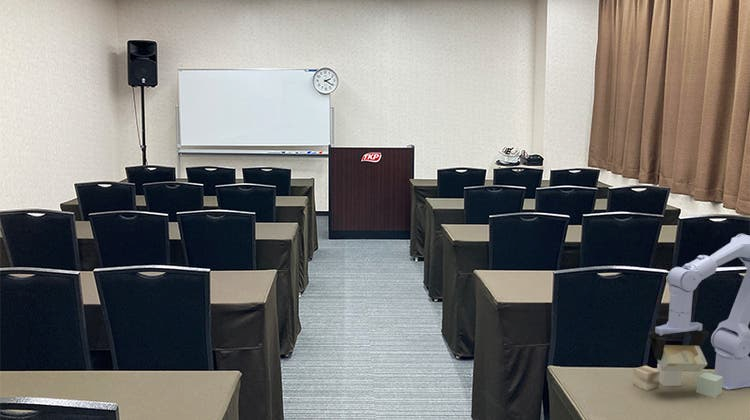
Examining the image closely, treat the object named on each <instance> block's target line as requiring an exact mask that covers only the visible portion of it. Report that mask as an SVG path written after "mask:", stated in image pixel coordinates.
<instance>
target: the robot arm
mask: <svg viewBox="0 0 750 420" xmlns="http://www.w3.org/2000/svg"><path fill="white" fill-rule="evenodd" d="M736 258H738V259H740V261H741V262H742V263H743V264H744V266H745V267H746V271H745V274H744V277H743V279H742V282H741V284H740V287H739V289H738V292H737V295H736V298H735V300H734V302H733V305H732V308H731V310H730V314H729V316H728V317H727V319H725V320H722V321H720V322H719V323H718V325H717V328H716V329H715V330H714V331H713V333H712V334H711V337H710V343H711V345H712V347H713V348H714V352H716V354H715V366H714V374H715V375H719V376H722V377H723V384H722V389H725V390H727V391H729V390H736V389H742V388H748V387H749V388H750V356H749V354H750V327H749V325H750V235H747V234H746V233H738V234H737V235H736V236H734V237H731V239H730V242H729V243H727V244H726V245H725V246H722V247H721V248H719V249H718V250H716V251H715V252H714V253H712V254H711V255H710V256H709V255H707V254H706V255H705V254H700V255H698V256H696V258H695V259H694V260H691V261H690V262H688V263H687V262H686V263H685V264H684V265H682V266H681V267H680V266H675V267H673V268H672V269H670V270H669V272H668V274H667V276H666V283H667V284H668V290H669V293H670V294H669V306H668V307H669V308H668V309H669V310H668V321H667V322H666V323H665V324H662V325H659V326H655V330H654V331H651V332H650V331H649V332H647V337H648V339H649V341H650V343H651V346H652V349H653V353H654V359H656V360H657V359H658V360H661V359H662V356H663V350H664V346H665V345H666V343H667V341H668V339H667V338H665V337H664V336H663V335H670V334H677V333H685V332H689V334H690V335H689V336H690V342H691V343H690V346H699V347H700V349H701V350H702V348H703V344H704V342H705V341H706V340H707V338H709V336H710V332H709V331H708V330H706V328H705V327H704V328H703V323H700V322H698V321H696V322H695V321H692V319H691V318H692V308H693V305H692V304H693V293H694V292H693V291H695V290H696V289H697V287H698V285H699V284H700V283H701V282H702V280H703V281H704V279H706V278H708V277H710V276H712V275H713V274H716V272H717V267H719V266H722V265H725V264H726V263H728V262H730V261H733V260H734V259H736ZM691 321H692V322H691Z"/></svg>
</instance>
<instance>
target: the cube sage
mask: <svg viewBox="0 0 750 420" xmlns="http://www.w3.org/2000/svg"><path fill="white" fill-rule="evenodd" d="M696 382H697V383H696V391H695V392H696V394H698V395H699V394H700V395H703V396H706V397H709V398H712V399H715V398H717V397H718V396H720V395H721V394H723V393H722V392H723V387H722V384H723V377H722V376H719V375H715V373H711V372H707V371H704V372H702V373H700V374H699V375H698V376H697V380H696Z"/></svg>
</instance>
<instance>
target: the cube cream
mask: <svg viewBox="0 0 750 420" xmlns="http://www.w3.org/2000/svg"><path fill="white" fill-rule="evenodd" d="M656 366H657V367H656V370H658V371H660V376H659V384H661V385H662V386H663V385H664V386H663V387H681V385H682V376H683V375H682V373H683V371H662V370H661V367H660V365H659V363H657V365H656Z"/></svg>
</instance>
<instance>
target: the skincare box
mask: <svg viewBox="0 0 750 420" xmlns="http://www.w3.org/2000/svg"><path fill="white" fill-rule="evenodd" d="M656 360H657V364H659V365H660V367H661V370H662V371H682V372H685V373H686V372H689V373H691V372H692V373H693V372H694V373H695V372H696V373H698V372H702V370H704V369H705V367H707V365H708V362H707V360H706V357H705V355H704V353H703V351H702V348H701V349H700V347H699V346H691V345H686V344H684V345H682V344H681V345H680V344H674V345H673V344H665V346H664V350H663V356H662V359H661V360H658V359H656Z"/></svg>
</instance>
